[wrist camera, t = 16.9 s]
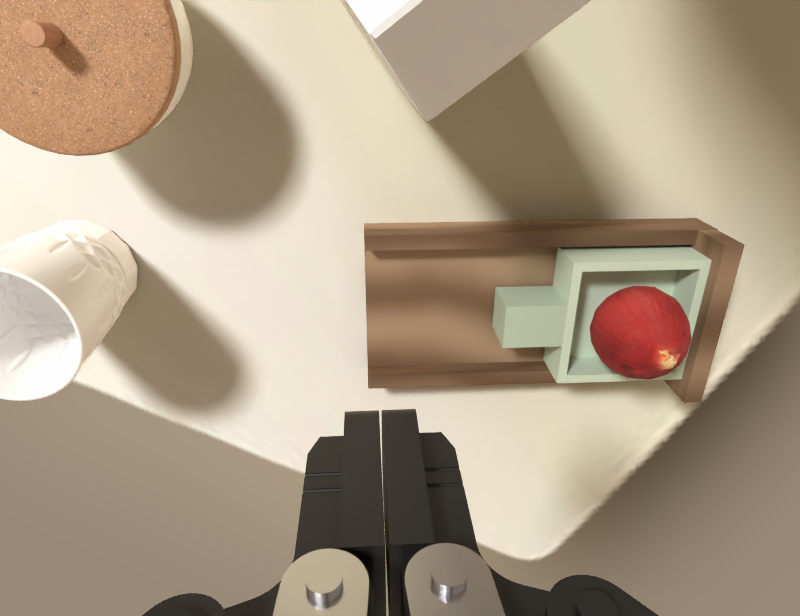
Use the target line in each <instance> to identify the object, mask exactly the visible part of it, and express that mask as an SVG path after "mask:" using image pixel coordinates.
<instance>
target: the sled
mask: <svg viewBox="0 0 800 616" xmlns="http://www.w3.org/2000/svg"><path fill="white" fill-rule="evenodd" d="M711 261H712V260H711V259H709V258H708V257H706V256H704V255H703V254H701V253H700V252H698V251H696V250H695V249H693V248H692V247H690V246H688V245H650V246H597V247H558V249H557V257H556V264H555V272H554V280H553V286H523V287H496V288H495V300H494V313H493V325H492V326H493V328H494V330H495V333H496V335H497V337H498V339H499V341H500V344H501V346H502V348H524V347H545V350H544V358H543V360H544V362H545V363H546V365H547V367H548V369H549V370H550V372H551V374H552V376H553V377H554V379H555V381H556V383H585V382H615V381H646V379H635V378H627V377H624V376H622V375H620V374H618V373H617V372H615V371H613V370H612V369H610V368H608V367H607V366H606V365H605V364H604V363H603V362H602V361H601V360H600V358H599V356H598V355H597V353H596V351H595V349H594V347H593V345H592V343H591V336H590V325H591V321H592V319H593V316H594V312H595V310H596V309H597V307H598V306H599V305H600V304H601V303H602V302H603V301H604V300H605V299H606V298H607V297H608V296H610V295H612V294H613V293H615V292H616V291H618V290H621V289H624V288H628V287H631V286H649V287H656V288H657V289H659V290H661V291H663V292H664V293H666V294H668V295H670V296H672V297H674V298H675V299H676V300H677V301H678V302H679V303H680V305H681V306H682V308H683V310H684V312H685V314H686V315H687V317H688V320H689V322H690V331H691V340H692V336H693V332H694V328H695V324H696V320H697V316H698V312H699V308H700V305H701V301H702V297H703V293H704V289H705V285H706V281H707V277H708V273H709V269H710V265H711ZM690 344H691V343H690ZM689 348H690V346H689ZM688 352H689V350H688ZM687 356H688V353H687V355H686V357H685V358H684V359H683V361H682V362H681V364H680V365H679V366H678V367H676V368H675V369H674V370H672V371H671V372H670V373H669V374H667V375H664V376H661V377H657V378H654V379H650V380H677V379H682V375H683V371H684V368H685V364H686V360H687Z"/></svg>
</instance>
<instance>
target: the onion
mask: <svg viewBox="0 0 800 616" xmlns="http://www.w3.org/2000/svg"><path fill="white" fill-rule="evenodd" d="M590 336H591V343H592V345H593V347H594V349H595V351H596V353H597V355H598V356H599V358H600V360H601V361H602V362H603V363H604V364H605V365H606V366H607V367H608V368H610V369H612V370H613V371H615V372H617V373H618V374H620V375H622V376H624V377H627V378H635V379H646V380H650V379H654V378H657V377H661V376H664V375H667V374H669V373H670V372H671V371H672V370H674V369H675V368H676V367H678V366H679V365H680V364H681V362H682V361H683V359H684V358H685V357H686V355H687V353H688V350H689V346H690V343H691V331H690V322H689V320H688V317H687V315H686V314H685V312H684V310H683V308H682V306H681V305H680V303H679V302H678V301H677V300H676V299H675V298H674V297H672V296H670V295H668V294H666V293H664V292H663V291H661V290H659V289H657V288H656V287H649V286H631V287H628V288H624V289H621V290H618V291H616V292H615V293H613V294H612V295H610V296H608V297H607V298H606V299H605V300H604V301H603V302H602V303H601V304H600V305H599V306H598V307H597V309H596V310H595V312H594V316H593V319H592V321H591V325H590Z"/></svg>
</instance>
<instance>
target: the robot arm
mask: <svg viewBox="0 0 800 616" xmlns="http://www.w3.org/2000/svg"><path fill="white" fill-rule="evenodd" d="M382 471H383V491H382ZM383 501H384V512H383ZM384 522H385V534H384ZM385 543H386V564H387V584H388V607H389V616H658V615H657V614H655V613H654V612H653V611H651V610H650V609H648V608H647V607H646V606H644V605H643V604H641V603H640V602H639V601H637V600H636V599H634V598H633V597H631V596H630V595H629V594H627V593H626V592H624V591H623V590H622V589H620V588H619V587H617V586H615V585H614V584H612V583H610V582H608V581H606V580H604V579H601V578H598V577H594V576H589V575H574V576H570V577H566V578H564V579H562V580H560V581H559V582H557V583H556V584H555V585H554V587H553V588H552V589H551V591H550V592H549V591H545V590H541V589H537V588H533V587H529V586H525V585H521V584H518V583H515V582H512V581H510V580H508V579H506V578H504V577H502V576H501V575H499V574H498V573H496V572H495V571H494V570H493V569H491V568H490V567H489V565H488V564H487V563H486V562H485V561H484V559H483V558H482V556H481V554H480V552H479V550H478V547H477V543H476V539H475V535H474V530H473V526H472V521H471V517H470V513H469V508H468V504H467V499H466V495H465V491H464V486H463V482H462V478H461V473H460V471H459V464H458V460H457V456H456V451H455V448H454V447H453V445H452V444H451V443H450V442H449V441H448V440H447V438H446V437H445V436H444V435H443V434H442V433H441V432H435V433H419V429H418V422H417V415H416V410H415V409H405V410H382V469H381V447H380V425H379V411H352V412H345V420H344V436H331V437H320V438H319V439H318V441H317V442H316V443H315V445H314V446H313V447H312V449H311V450H310V452H309V453H308V456H307V464H306V472H305V479H304V487H303V495H302V502H301V510H300V518H299V526H298V533H297V541H296V548H295V555H294V560H293V563H292V564H291V565H290V567H289V568H288V569H287V570H286V572H285V574H284V575H283V577H282V580H281V581H280V582H279V583H278V584H277V585H276V586H275V587H273V588H272V589H270V591H268V592H266V593H264V594H262V595H261V596H259V597H256V598H254V599H251V600H248V601H246V602H243V603H240V604H237V605H234V606H231V607H228V608H226V609H223V607H222V606H221V605H220V604H219V603H218V602H217V601H216V600H215V599H213V598H211V597H209V596H206V595H203V594H197V593H193V594H192V593H190V594H189V593H188V594H182V595H178V596H174V597H171V598H169V599H167V600H164V601H162V602H161V603H159V604H157V605H155V606H154V607H153V608H151V609H150V610H149V611H147V612H146V613H145V614H144V615H143V616H386V584H385V583H386V582H385Z"/></svg>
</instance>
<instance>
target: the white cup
mask: <svg viewBox="0 0 800 616" xmlns="http://www.w3.org/2000/svg"><path fill="white" fill-rule="evenodd" d="M137 273H138V267H137V264H136V262H135V260H134V258H133V255H132V253H131V251H130V249H129V247H128V246H127V245H126V244H125V243H124V242H123V241H122V240H121V239H120V238H119V237H118V236H117V235H116V234H114V233H113V232H112V231H111V230H110V229H107V228H105V227H102V226H100V225H98V224H95V223H93V222H90V221H88V220H62V221H59V222H57V223H55V224H53V225H51V226H49V227H48V228H46V229H43V230H40V231H38V232H33V233H29V234H27V235H25V236H23V237H20V238H18V239H15V240H12V241H11V242H9V243H7V244H4V245H2V246H0V399H6V400H15V401H17V400H18V401H26V400H35V399H40V398H44V397H47V396H50V395H53V394H55V393H57V392H58V391H60V390H62V389H63V388H65V387H66V386H67V385H68V384H69V383H70V382H71V381H72V380H73V379H74V378H75V376H76V375H77V373H78V372H79V371H80V369H81V368H82V367H83V365H84V364H85V363H86V361H87V360H88V359H89V357H90V356H91V355H92V353H93V352H94V350H95V349H96V348H97V346H98V345H99V344H100V342H101V341H102V340H103V338H104V337H105V336H106V334H107V333H108V332H109V330H110V329H111V328H112V326H113V325H114V323H115V321H116V320H117V318H118V317H119V316H120V314H121V311H122V308H123V307H124V306H125V304H126V303H127V301H128V300H129V298H130V297H131V295H132V294H133V292H134V291H135V289H136V288H137Z"/></svg>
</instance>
